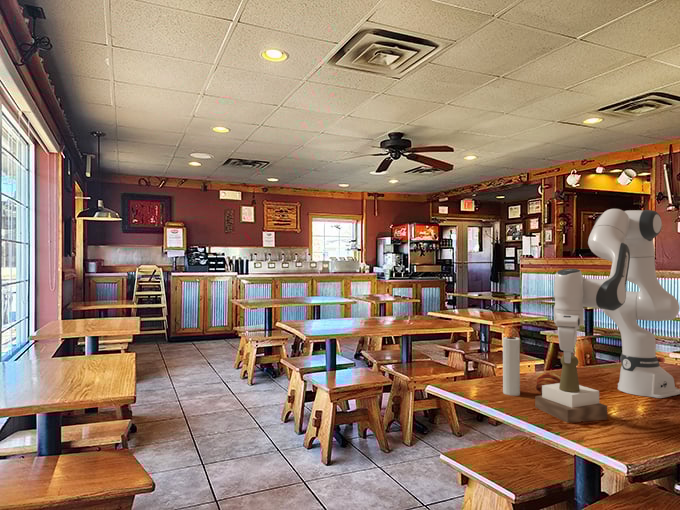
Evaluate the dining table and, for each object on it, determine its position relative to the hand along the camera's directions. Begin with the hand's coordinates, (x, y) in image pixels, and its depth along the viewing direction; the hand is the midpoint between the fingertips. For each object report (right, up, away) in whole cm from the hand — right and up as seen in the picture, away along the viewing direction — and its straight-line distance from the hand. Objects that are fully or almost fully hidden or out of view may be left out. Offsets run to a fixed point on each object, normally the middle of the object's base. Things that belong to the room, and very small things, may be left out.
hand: (568, 360), depth 152 cm
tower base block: (0, -18, 0) cm, 18 cm away
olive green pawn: (-1, -9, -2) cm, 10 cm away
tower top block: (+1, -13, 0) cm, 13 cm away
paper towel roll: (-10, -18, +22) cm, 30 cm away
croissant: (+7, -18, +24) cm, 31 cm away
